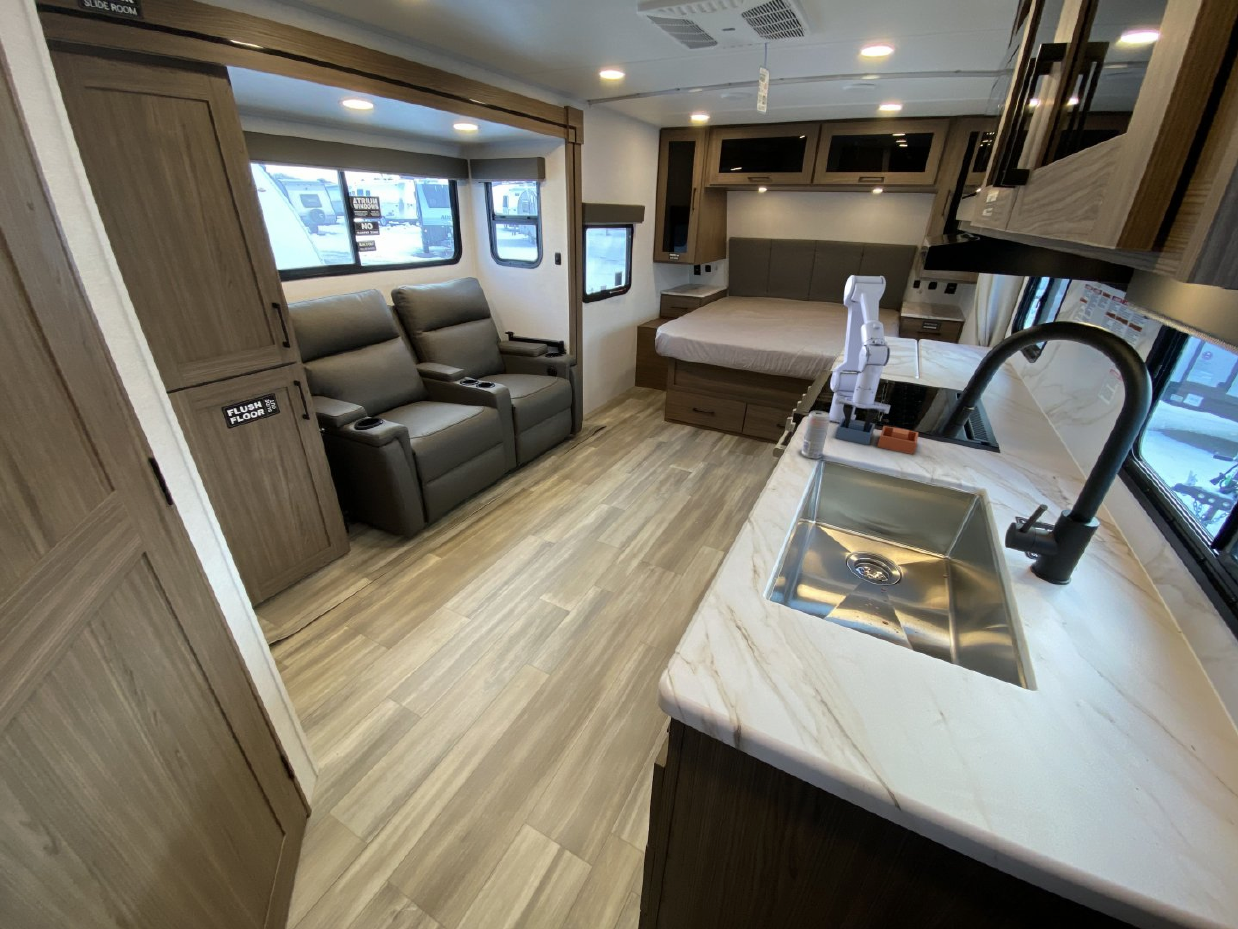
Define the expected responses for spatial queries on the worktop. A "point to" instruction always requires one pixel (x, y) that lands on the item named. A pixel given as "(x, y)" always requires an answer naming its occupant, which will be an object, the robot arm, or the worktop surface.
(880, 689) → the worktop surface
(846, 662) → the worktop surface
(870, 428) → the slate bin
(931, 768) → the worktop surface
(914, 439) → the rust bin
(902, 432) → the rust block
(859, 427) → the slate block
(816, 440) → the energy drink
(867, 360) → the robot arm
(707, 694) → the worktop surface
